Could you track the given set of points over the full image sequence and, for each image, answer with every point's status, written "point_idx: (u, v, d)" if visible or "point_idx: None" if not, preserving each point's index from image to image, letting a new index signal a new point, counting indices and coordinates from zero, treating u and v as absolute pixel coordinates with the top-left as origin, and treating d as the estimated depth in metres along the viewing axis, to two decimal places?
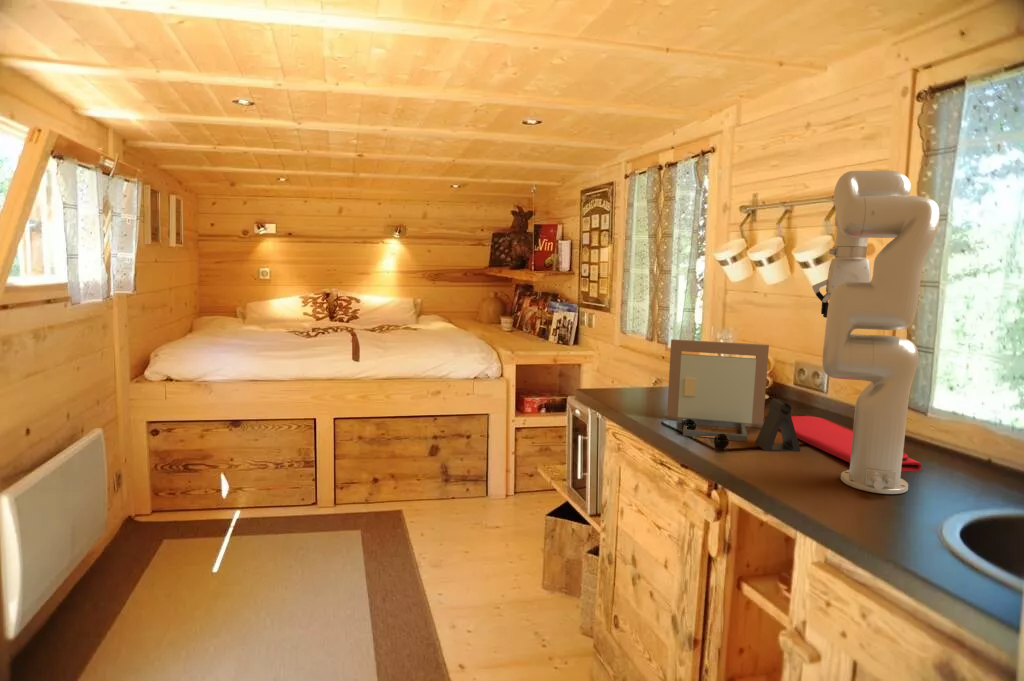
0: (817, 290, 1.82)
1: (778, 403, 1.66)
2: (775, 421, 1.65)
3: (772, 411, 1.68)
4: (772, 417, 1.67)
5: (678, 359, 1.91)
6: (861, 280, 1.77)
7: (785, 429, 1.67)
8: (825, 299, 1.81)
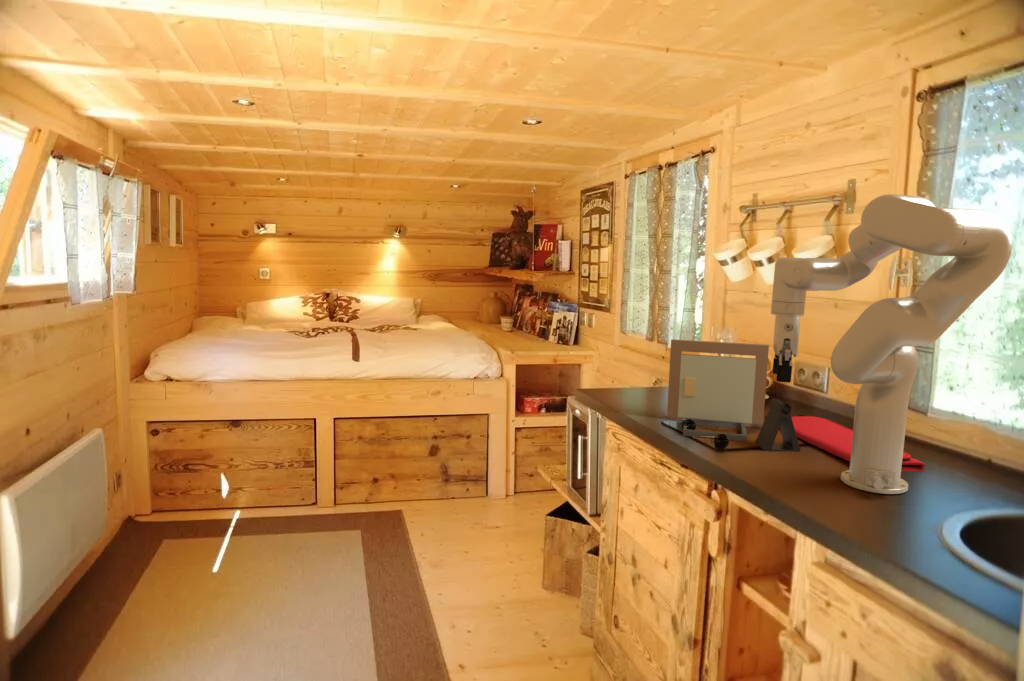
0: None
1: (778, 403, 1.66)
2: (775, 421, 1.65)
3: (772, 411, 1.68)
4: (772, 417, 1.67)
5: (678, 359, 1.91)
6: None
7: (785, 429, 1.67)
8: None
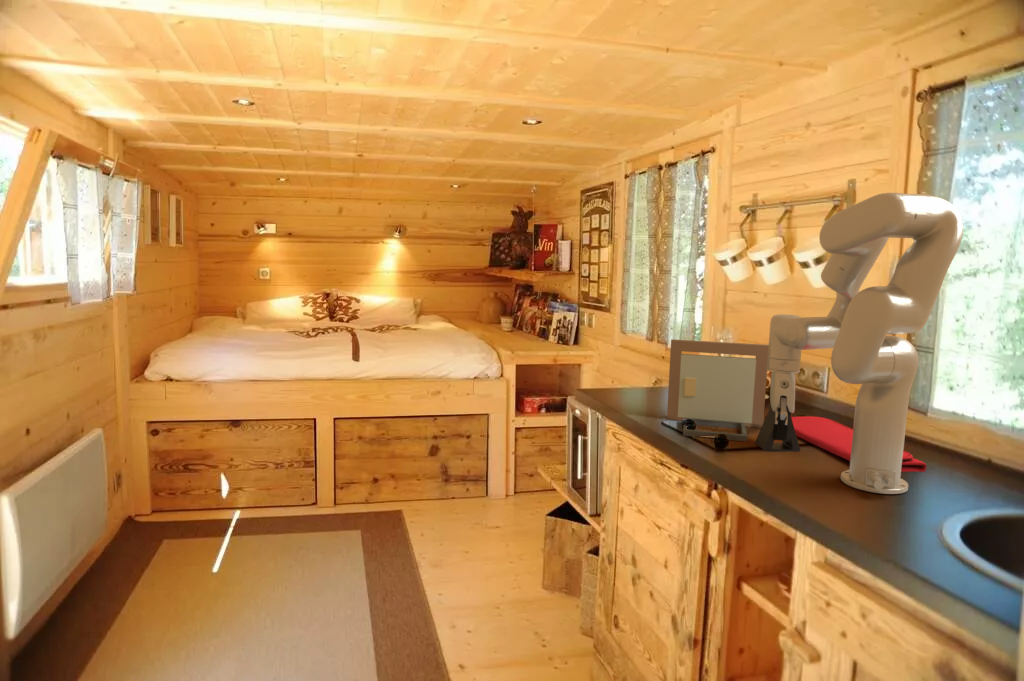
0: None
1: None
2: (774, 421, 1.65)
3: (772, 411, 1.68)
4: (772, 417, 1.67)
5: (678, 359, 1.91)
6: None
7: None
8: None
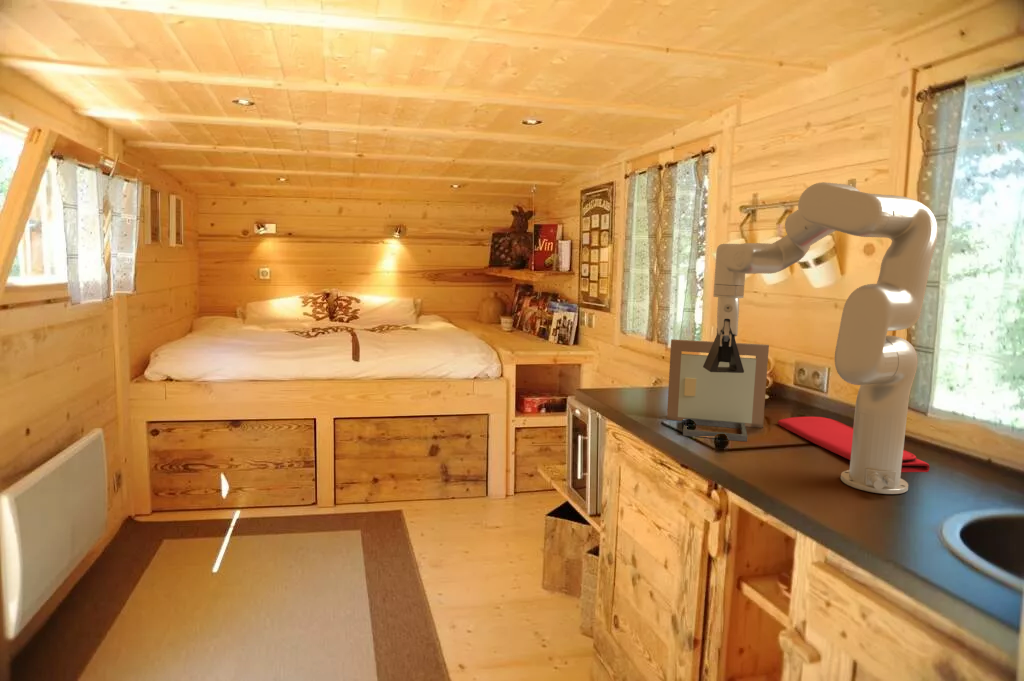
0: (728, 336, 1.71)
1: None
2: None
3: (718, 336, 1.78)
4: (718, 341, 1.77)
5: (678, 359, 1.91)
6: None
7: None
8: (730, 343, 1.73)
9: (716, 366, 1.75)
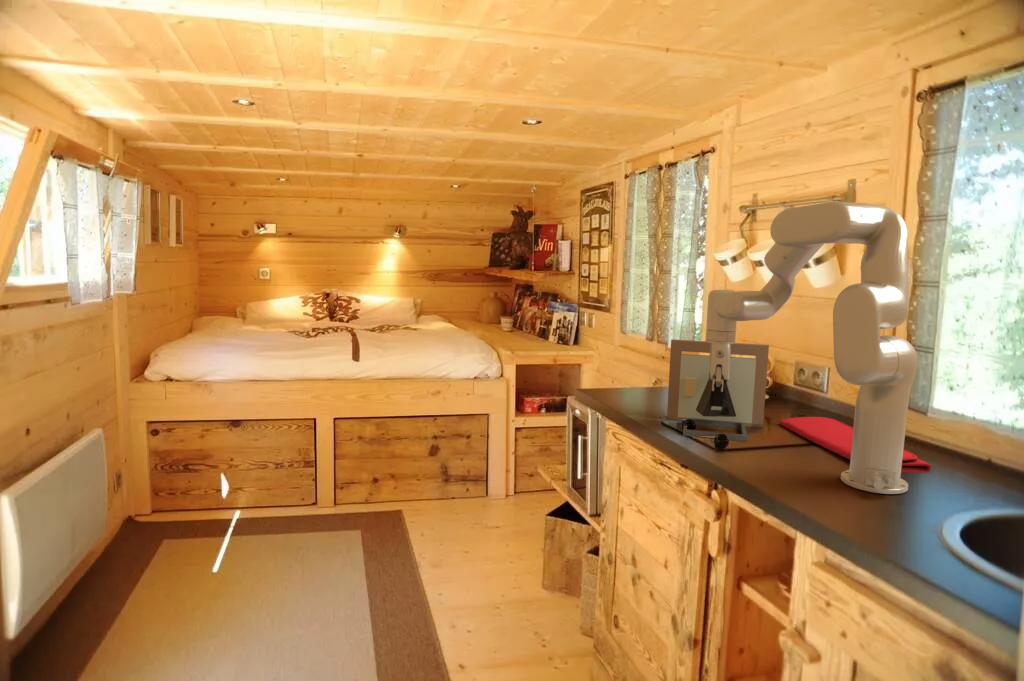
0: (720, 382, 1.74)
1: None
2: None
3: (711, 380, 1.81)
4: (710, 385, 1.80)
5: (678, 359, 1.91)
6: None
7: None
8: (722, 388, 1.76)
9: (708, 410, 1.78)
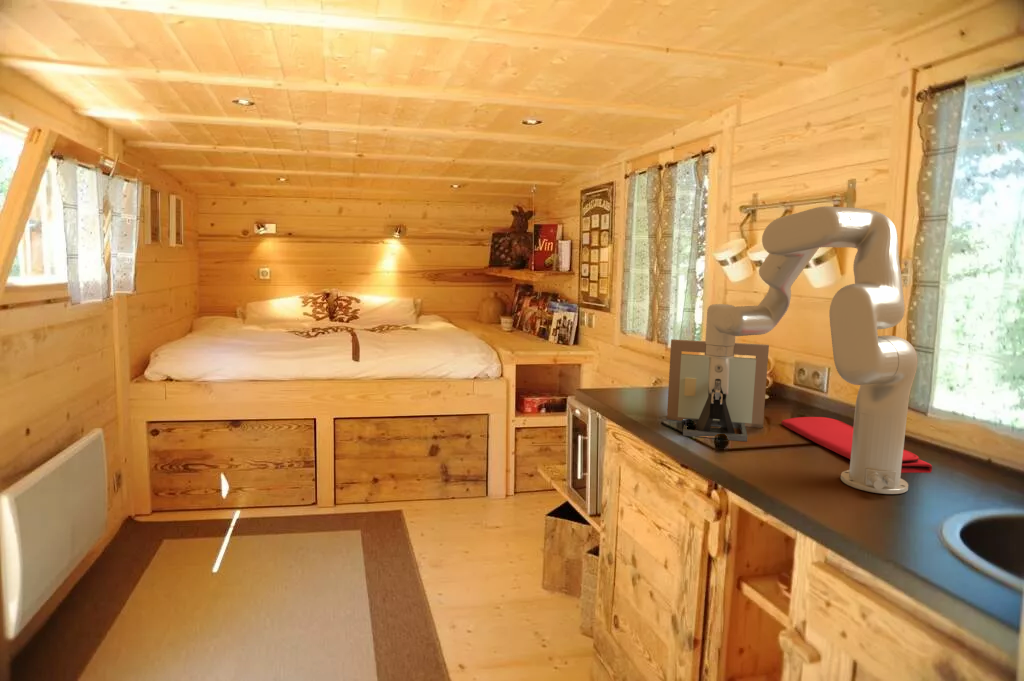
0: (719, 394, 1.73)
1: None
2: None
3: (710, 398, 1.81)
4: (709, 404, 1.80)
5: (678, 359, 1.91)
6: None
7: None
8: (721, 401, 1.75)
9: (708, 429, 1.78)
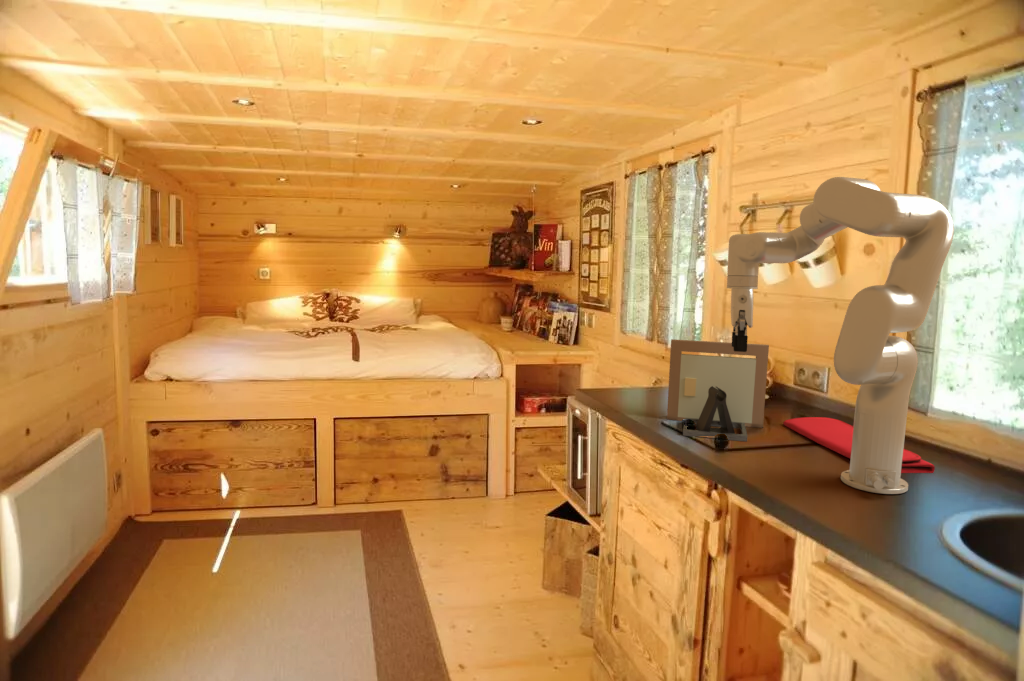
0: (744, 323, 1.67)
1: (714, 390, 1.79)
2: (711, 407, 1.78)
3: (710, 398, 1.81)
4: (709, 404, 1.80)
5: (678, 359, 1.91)
6: None
7: (721, 415, 1.81)
8: (746, 332, 1.69)
9: (708, 429, 1.78)
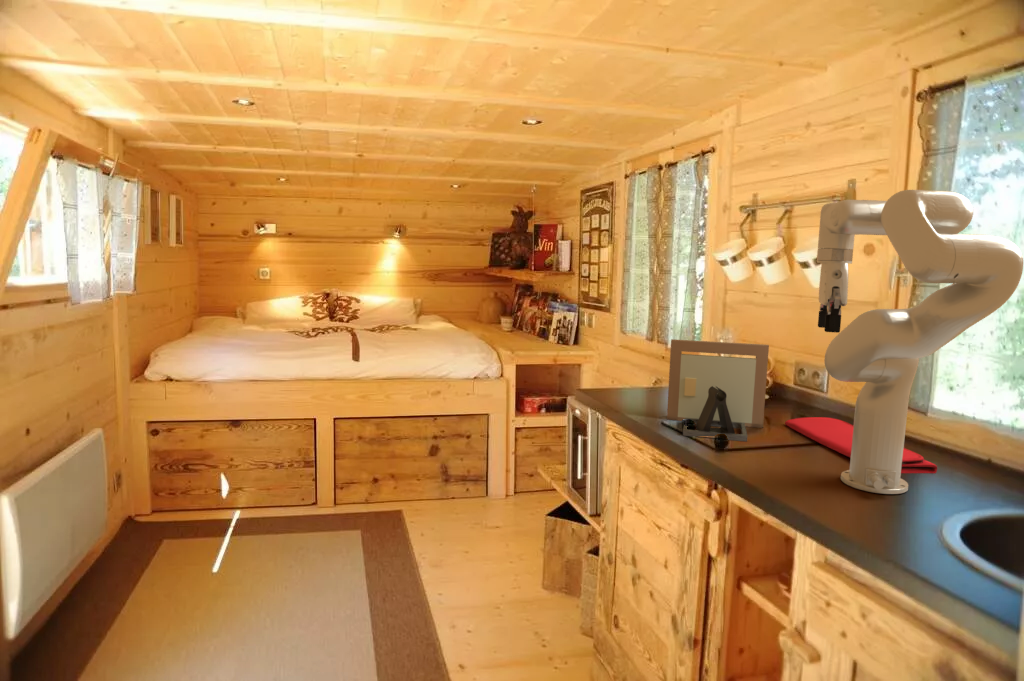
0: None
1: (714, 390, 1.79)
2: (711, 407, 1.78)
3: (710, 398, 1.81)
4: (709, 404, 1.80)
5: (678, 359, 1.91)
6: None
7: (721, 415, 1.81)
8: None
9: (708, 429, 1.78)
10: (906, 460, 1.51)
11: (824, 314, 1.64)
